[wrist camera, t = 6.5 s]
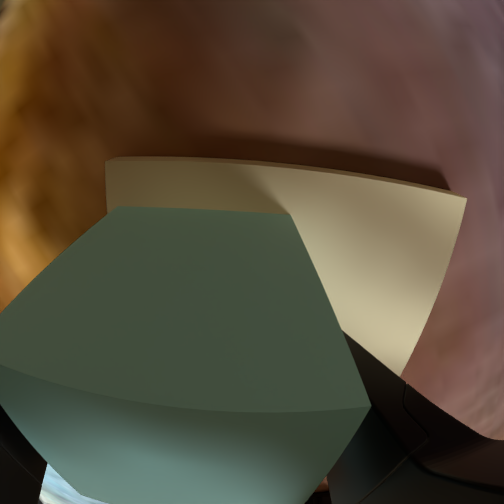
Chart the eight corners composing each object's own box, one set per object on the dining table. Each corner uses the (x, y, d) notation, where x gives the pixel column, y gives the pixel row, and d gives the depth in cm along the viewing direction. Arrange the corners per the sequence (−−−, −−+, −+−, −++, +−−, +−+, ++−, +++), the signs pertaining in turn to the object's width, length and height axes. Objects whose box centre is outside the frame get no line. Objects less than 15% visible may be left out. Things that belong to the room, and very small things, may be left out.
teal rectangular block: (271, 349, 11) (289, 520, 5) (134, 339, 11) (80, 494, 5) (290, 214, 9) (371, 405, 3) (117, 206, 8) (-32, 351, 2)
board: (348, 440, 16) (351, 452, 15) (159, 437, 15) (157, 450, 15) (451, 191, 10) (467, 198, 9) (117, 156, 9) (104, 161, 8)
